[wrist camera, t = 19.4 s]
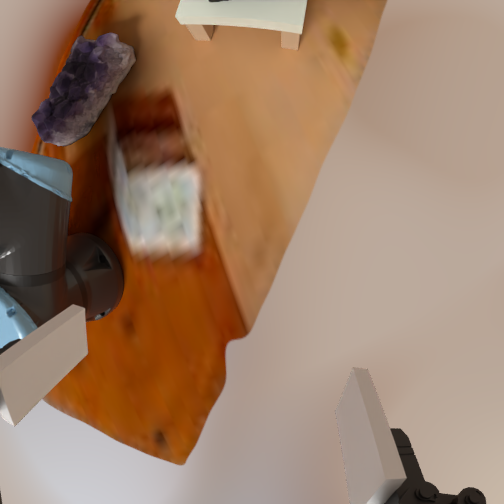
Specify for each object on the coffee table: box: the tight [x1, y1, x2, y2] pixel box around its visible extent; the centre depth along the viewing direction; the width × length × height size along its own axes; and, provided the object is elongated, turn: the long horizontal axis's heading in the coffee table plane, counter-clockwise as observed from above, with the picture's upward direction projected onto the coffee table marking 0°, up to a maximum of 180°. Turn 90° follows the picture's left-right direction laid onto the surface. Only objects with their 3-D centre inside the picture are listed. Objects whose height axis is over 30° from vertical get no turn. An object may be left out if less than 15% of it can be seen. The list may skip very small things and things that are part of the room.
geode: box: [32, 33, 136, 146], centre depth 38 cm, size 20×12×10 cm, turn 147°
